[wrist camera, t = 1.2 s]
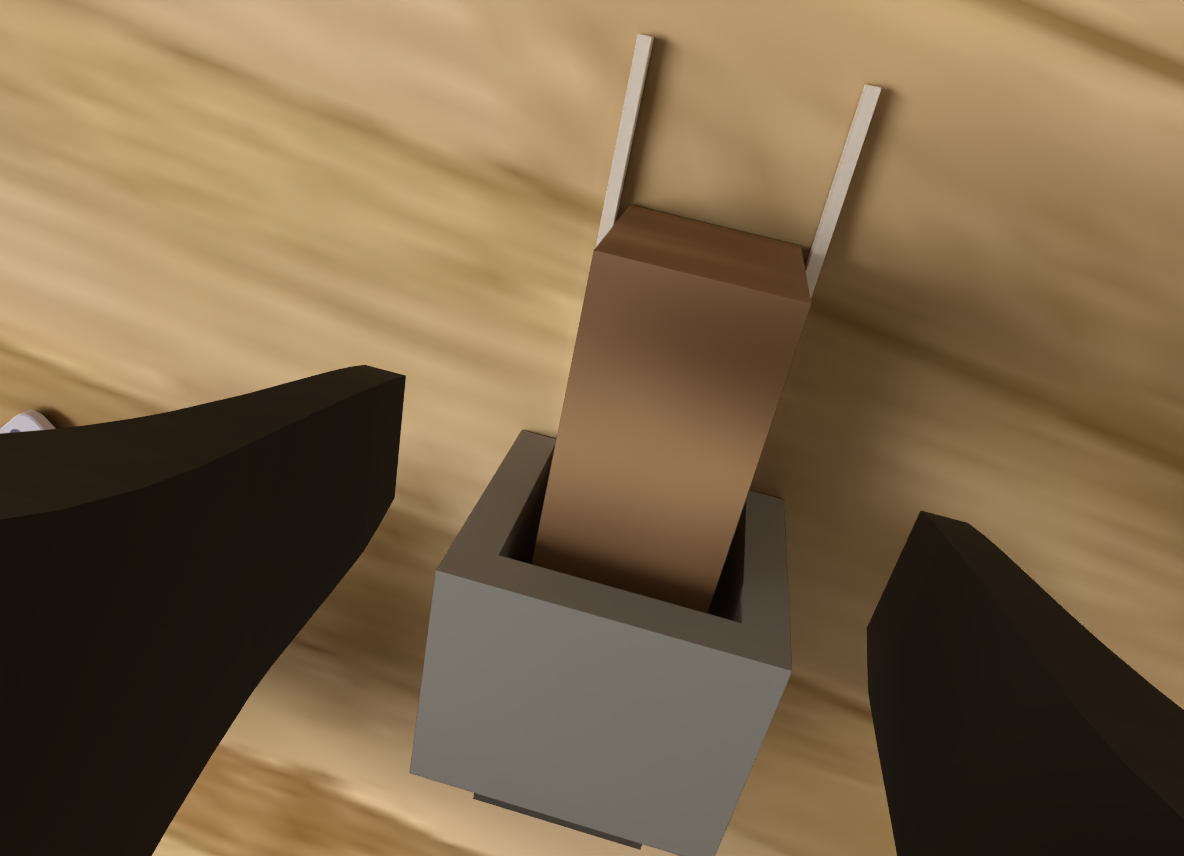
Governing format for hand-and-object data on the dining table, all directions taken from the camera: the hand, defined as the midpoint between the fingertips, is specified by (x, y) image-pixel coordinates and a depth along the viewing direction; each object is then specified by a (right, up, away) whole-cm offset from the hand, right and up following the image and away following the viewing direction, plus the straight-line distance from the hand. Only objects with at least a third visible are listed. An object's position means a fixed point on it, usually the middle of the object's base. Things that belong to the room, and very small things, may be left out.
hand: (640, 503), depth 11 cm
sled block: (+1, 0, +11) cm, 11 cm away
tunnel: (+1, +1, +10) cm, 10 cm away
